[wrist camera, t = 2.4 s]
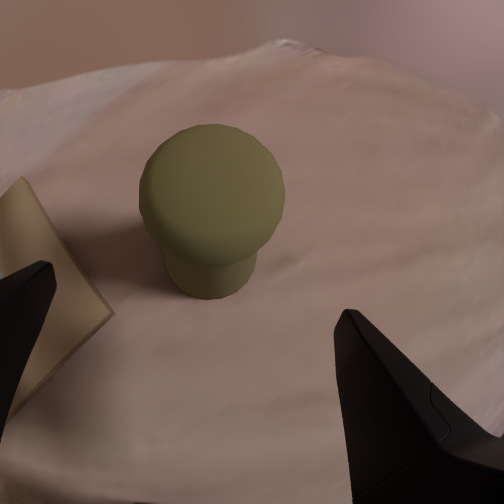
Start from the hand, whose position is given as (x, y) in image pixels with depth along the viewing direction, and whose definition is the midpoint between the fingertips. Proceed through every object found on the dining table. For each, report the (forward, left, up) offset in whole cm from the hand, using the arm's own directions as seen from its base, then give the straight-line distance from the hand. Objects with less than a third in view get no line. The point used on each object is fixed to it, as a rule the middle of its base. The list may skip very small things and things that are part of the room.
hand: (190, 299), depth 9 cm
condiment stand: (-6, +16, -11) cm, 20 cm away
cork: (+4, 0, -11) cm, 12 cm away
